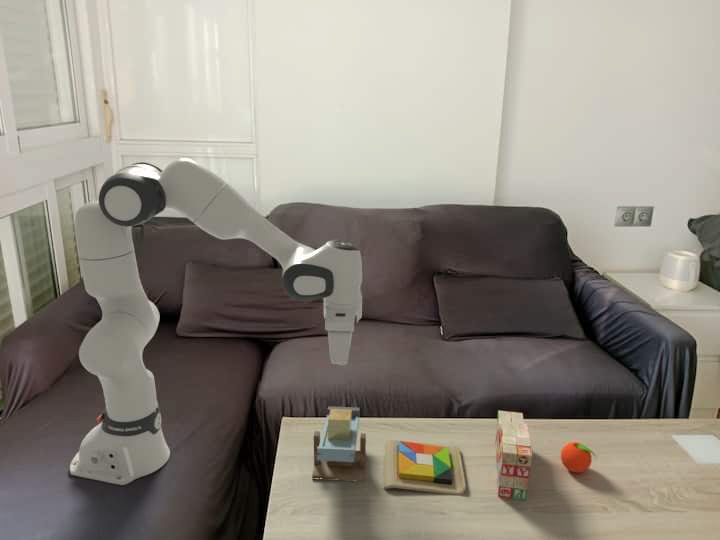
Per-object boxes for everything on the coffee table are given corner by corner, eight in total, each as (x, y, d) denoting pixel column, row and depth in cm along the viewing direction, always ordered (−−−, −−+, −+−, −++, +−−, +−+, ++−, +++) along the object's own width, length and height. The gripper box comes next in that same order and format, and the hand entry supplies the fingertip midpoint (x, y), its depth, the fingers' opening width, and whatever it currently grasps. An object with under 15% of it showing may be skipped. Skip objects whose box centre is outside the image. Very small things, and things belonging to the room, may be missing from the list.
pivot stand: (317, 452, 142) (316, 421, 139) (366, 454, 141) (366, 423, 139) (311, 479, 133) (311, 446, 130) (364, 481, 132) (364, 449, 129)
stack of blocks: (494, 440, 148) (499, 399, 144) (519, 443, 147) (524, 402, 143) (497, 497, 128) (502, 451, 124) (526, 501, 127) (532, 455, 123)
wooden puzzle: (466, 497, 128) (467, 484, 127) (383, 493, 129) (383, 480, 128) (458, 449, 145) (459, 437, 144) (384, 445, 146) (384, 434, 145)
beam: (328, 418, 145) (328, 406, 145) (359, 419, 145) (359, 407, 145) (317, 460, 124) (317, 446, 123) (353, 462, 123) (353, 448, 123)
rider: (330, 428, 137) (330, 408, 136) (351, 429, 137) (351, 409, 136) (327, 439, 131) (328, 419, 130) (349, 440, 131) (349, 420, 130)
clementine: (595, 467, 138) (600, 442, 136) (592, 484, 132) (596, 458, 130) (561, 456, 142) (565, 432, 139) (556, 473, 136) (560, 447, 134)
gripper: (333, 292, 141) (334, 342, 146) (324, 327, 122) (324, 383, 126) (359, 293, 141) (358, 343, 145) (353, 328, 122) (353, 384, 126)
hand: (342, 362), depth 136 cm, fingers closed
